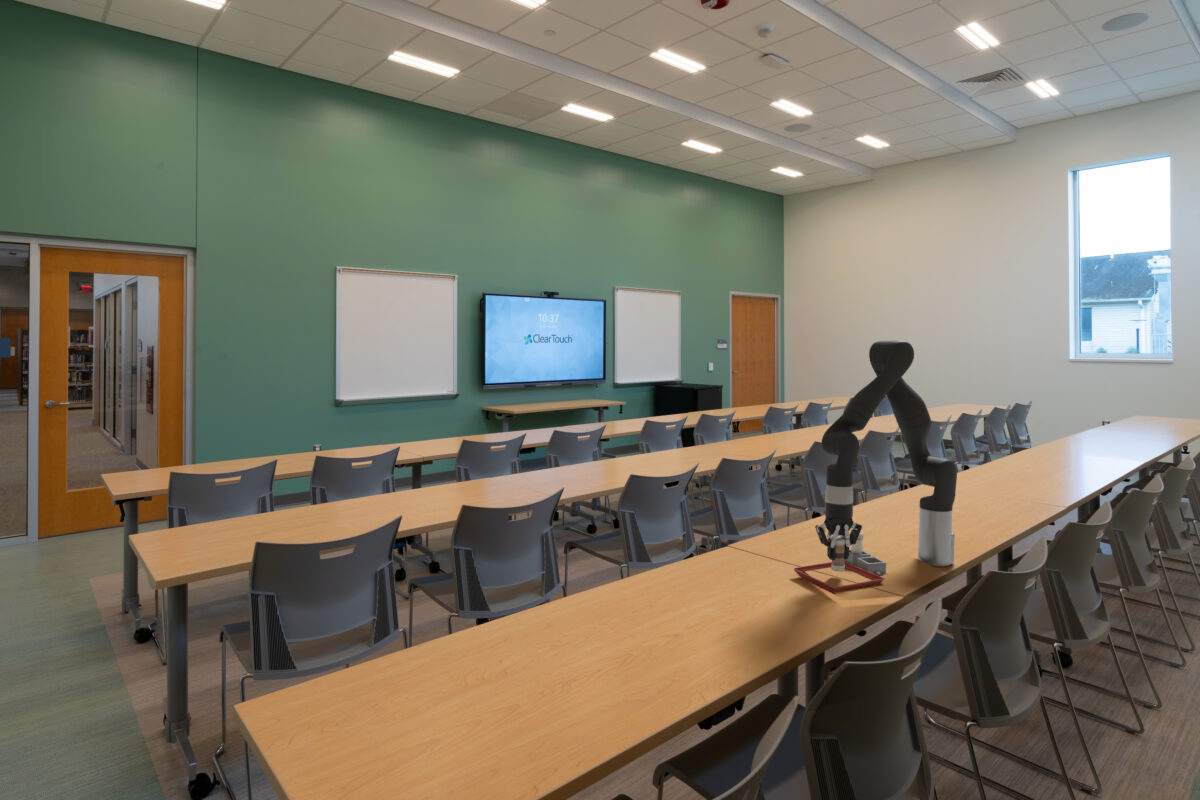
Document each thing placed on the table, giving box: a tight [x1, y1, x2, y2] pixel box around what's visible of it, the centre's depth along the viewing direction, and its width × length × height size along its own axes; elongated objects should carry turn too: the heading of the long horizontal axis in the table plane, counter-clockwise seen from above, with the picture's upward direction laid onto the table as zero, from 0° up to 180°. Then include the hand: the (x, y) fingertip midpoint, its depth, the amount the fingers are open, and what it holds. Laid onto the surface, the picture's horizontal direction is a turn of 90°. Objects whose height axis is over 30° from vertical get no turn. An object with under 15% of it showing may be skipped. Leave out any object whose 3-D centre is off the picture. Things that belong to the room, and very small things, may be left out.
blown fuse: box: [830, 536, 846, 572], centre depth 188 cm, size 4×4×9 cm
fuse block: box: [844, 548, 889, 576], centre depth 199 cm, size 6×16×4 cm, turn 9°
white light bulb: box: [850, 531, 864, 555], centre depth 202 cm, size 4×4×9 cm
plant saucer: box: [793, 561, 885, 595], centre depth 189 cm, size 18×18×3 cm
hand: (838, 558), depth 189 cm, fingers closed on blown fuse, 3 cm apart
